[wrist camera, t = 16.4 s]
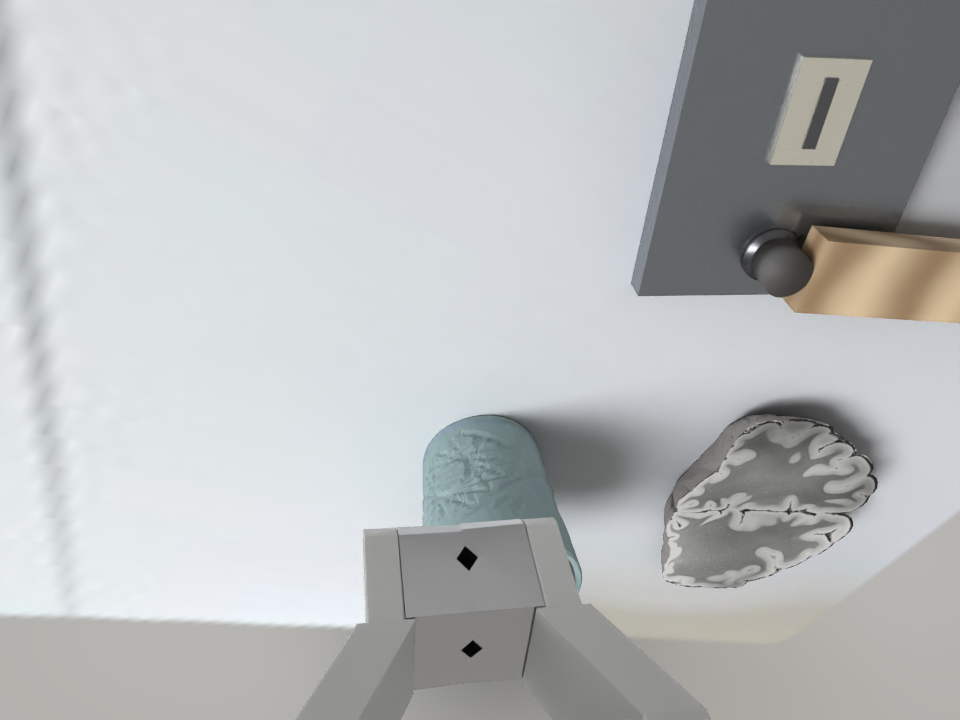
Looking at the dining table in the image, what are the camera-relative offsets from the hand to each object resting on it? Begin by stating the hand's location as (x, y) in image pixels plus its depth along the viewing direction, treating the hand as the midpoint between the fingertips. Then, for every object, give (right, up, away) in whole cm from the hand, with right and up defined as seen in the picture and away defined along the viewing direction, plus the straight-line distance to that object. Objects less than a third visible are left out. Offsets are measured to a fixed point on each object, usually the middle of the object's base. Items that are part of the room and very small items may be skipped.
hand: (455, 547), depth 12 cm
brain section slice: (+23, -7, +53) cm, 59 cm away
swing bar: (+25, +9, +38) cm, 46 cm away
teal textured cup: (0, -4, +46) cm, 47 cm away
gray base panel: (+19, +19, +31) cm, 42 cm away
